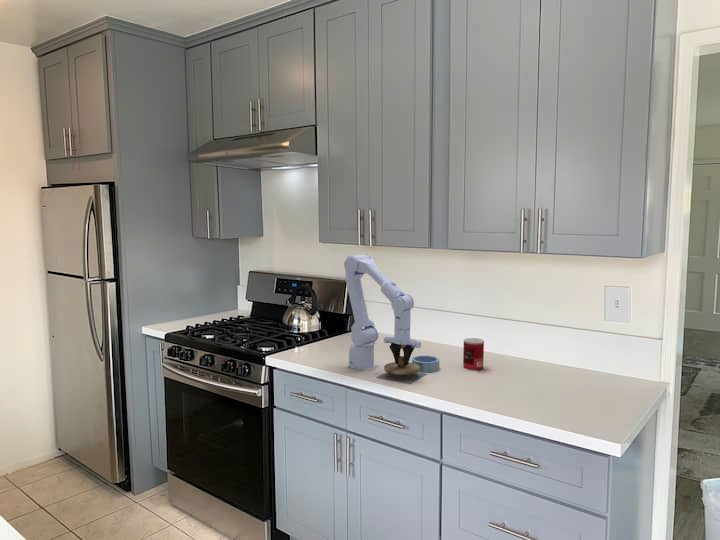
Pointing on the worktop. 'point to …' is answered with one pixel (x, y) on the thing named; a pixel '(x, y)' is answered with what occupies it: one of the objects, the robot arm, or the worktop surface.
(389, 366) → the lid
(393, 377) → the mat
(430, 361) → the bowl
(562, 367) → the worktop surface
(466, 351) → the canned food
